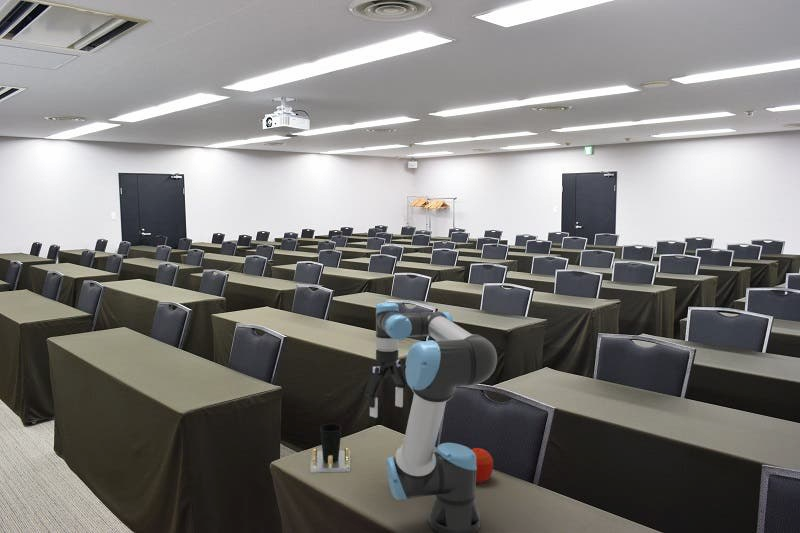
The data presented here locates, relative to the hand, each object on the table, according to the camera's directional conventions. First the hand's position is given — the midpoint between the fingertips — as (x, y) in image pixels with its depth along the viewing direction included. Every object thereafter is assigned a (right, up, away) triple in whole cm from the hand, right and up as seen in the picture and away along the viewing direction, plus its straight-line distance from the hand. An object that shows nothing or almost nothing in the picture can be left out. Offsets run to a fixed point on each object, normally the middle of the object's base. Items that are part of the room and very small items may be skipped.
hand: (386, 411), depth 189 cm
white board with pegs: (-21, -23, +16) cm, 35 cm away
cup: (-21, -22, +15) cm, 34 cm away
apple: (+31, -25, +5) cm, 41 cm away
